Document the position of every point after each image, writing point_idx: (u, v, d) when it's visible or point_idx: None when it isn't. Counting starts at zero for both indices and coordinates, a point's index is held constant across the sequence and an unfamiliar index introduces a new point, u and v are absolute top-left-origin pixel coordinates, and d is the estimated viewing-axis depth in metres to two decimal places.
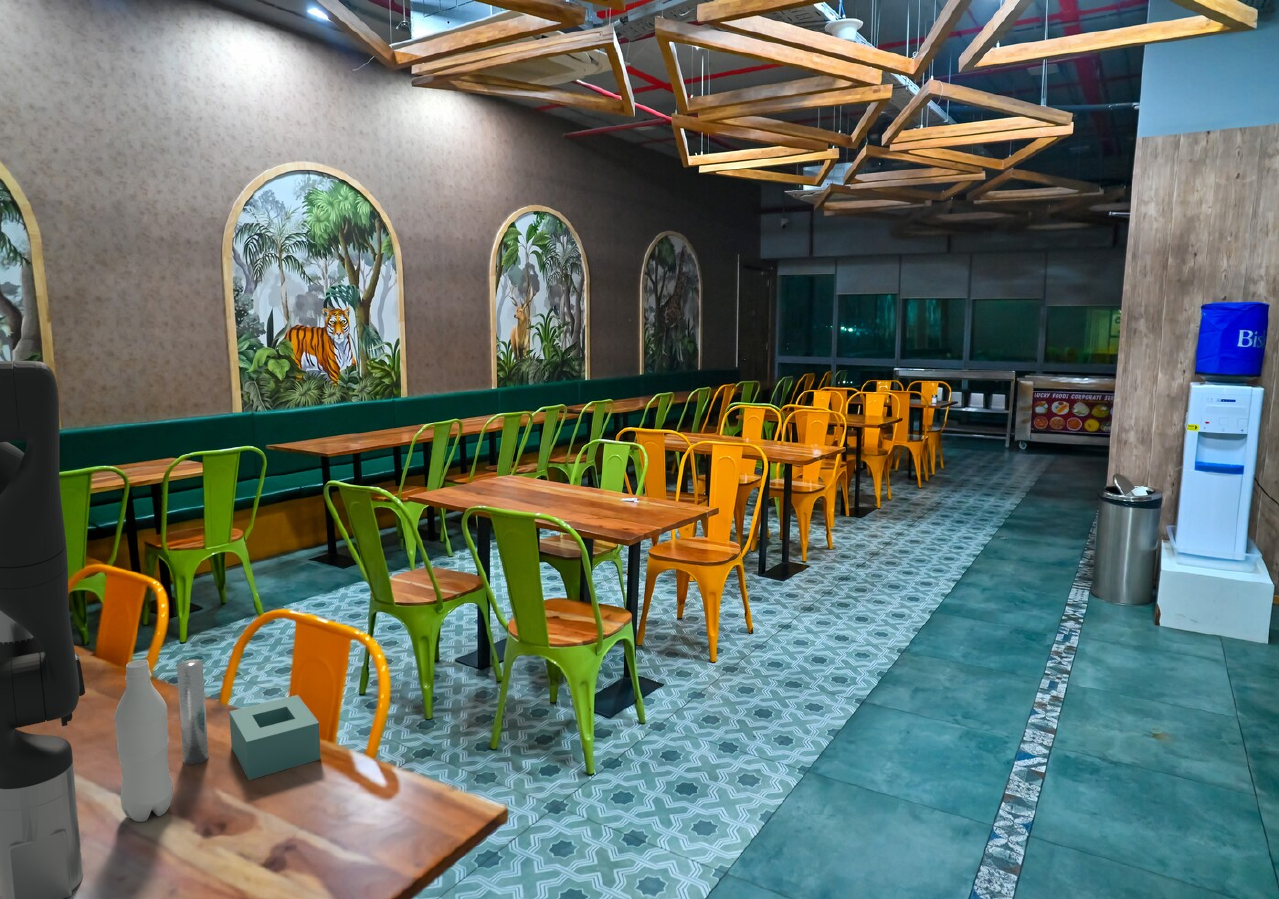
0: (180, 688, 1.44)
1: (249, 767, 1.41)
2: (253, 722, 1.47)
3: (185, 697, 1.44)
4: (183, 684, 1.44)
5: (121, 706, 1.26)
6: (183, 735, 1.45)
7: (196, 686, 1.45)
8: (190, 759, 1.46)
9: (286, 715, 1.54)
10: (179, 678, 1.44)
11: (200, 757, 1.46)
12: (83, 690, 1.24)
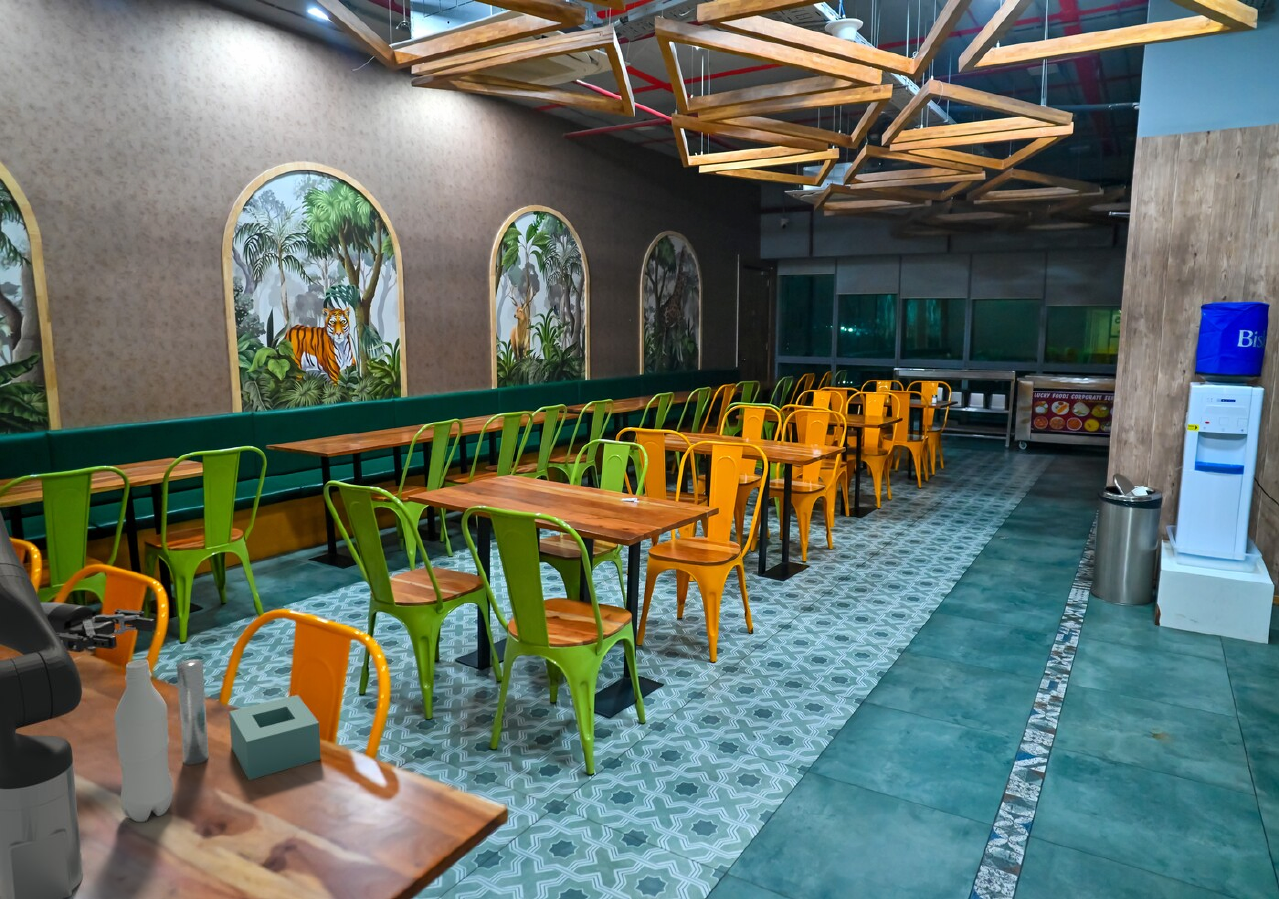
0: (180, 688, 1.44)
1: (249, 767, 1.41)
2: (253, 722, 1.47)
3: (185, 697, 1.44)
4: (183, 684, 1.44)
5: (121, 706, 1.26)
6: (183, 735, 1.45)
7: (196, 686, 1.45)
8: (190, 759, 1.46)
9: (286, 715, 1.54)
10: (179, 678, 1.44)
11: (200, 757, 1.46)
12: (141, 611, 1.55)
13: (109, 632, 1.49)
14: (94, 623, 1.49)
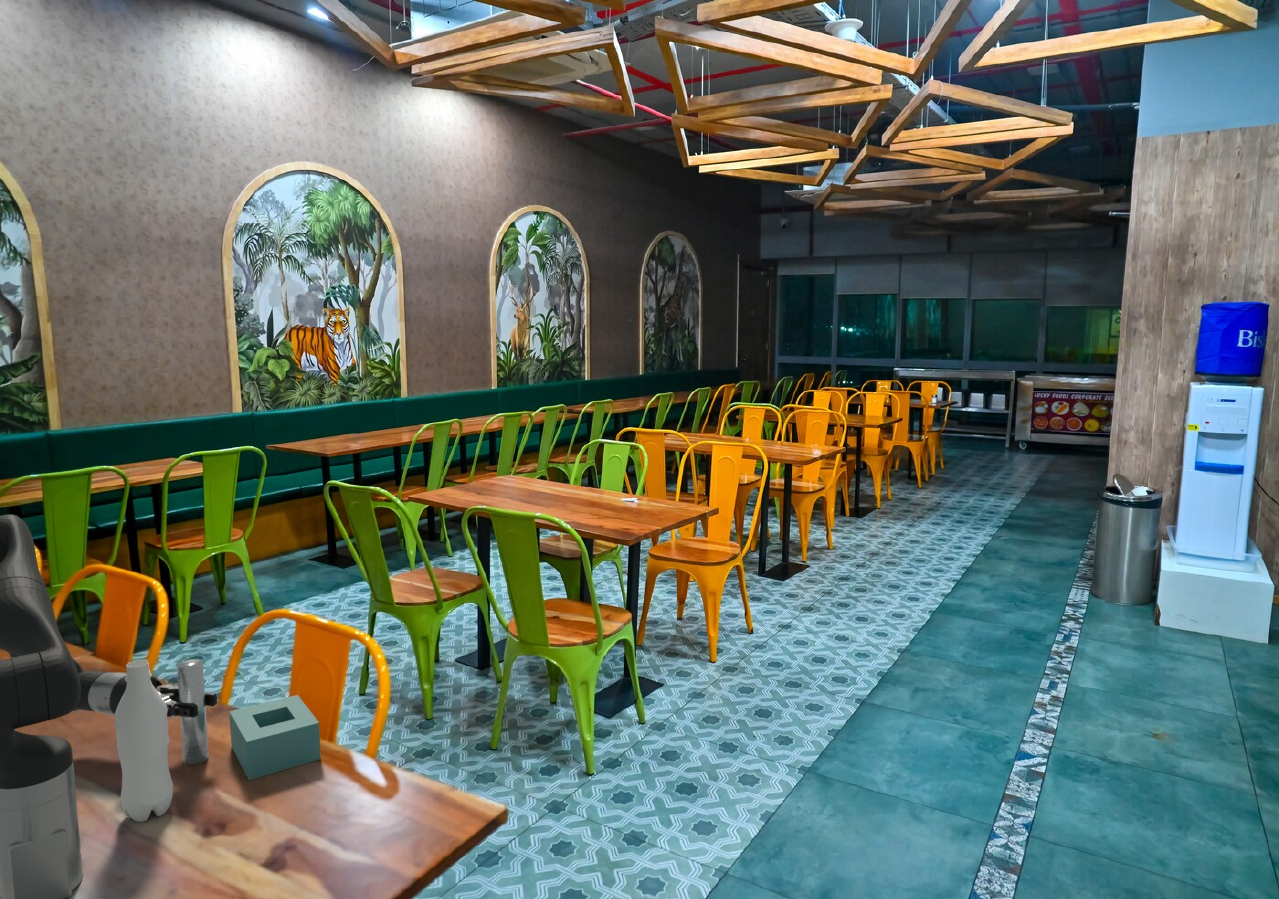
0: (180, 688, 1.44)
1: (249, 767, 1.41)
2: (253, 722, 1.47)
3: (185, 697, 1.44)
4: (183, 684, 1.44)
5: (121, 706, 1.26)
6: (183, 735, 1.45)
7: (196, 686, 1.45)
8: (190, 759, 1.46)
9: (286, 715, 1.54)
10: (179, 678, 1.44)
11: (200, 757, 1.47)
12: None
13: None
14: (160, 693, 1.48)
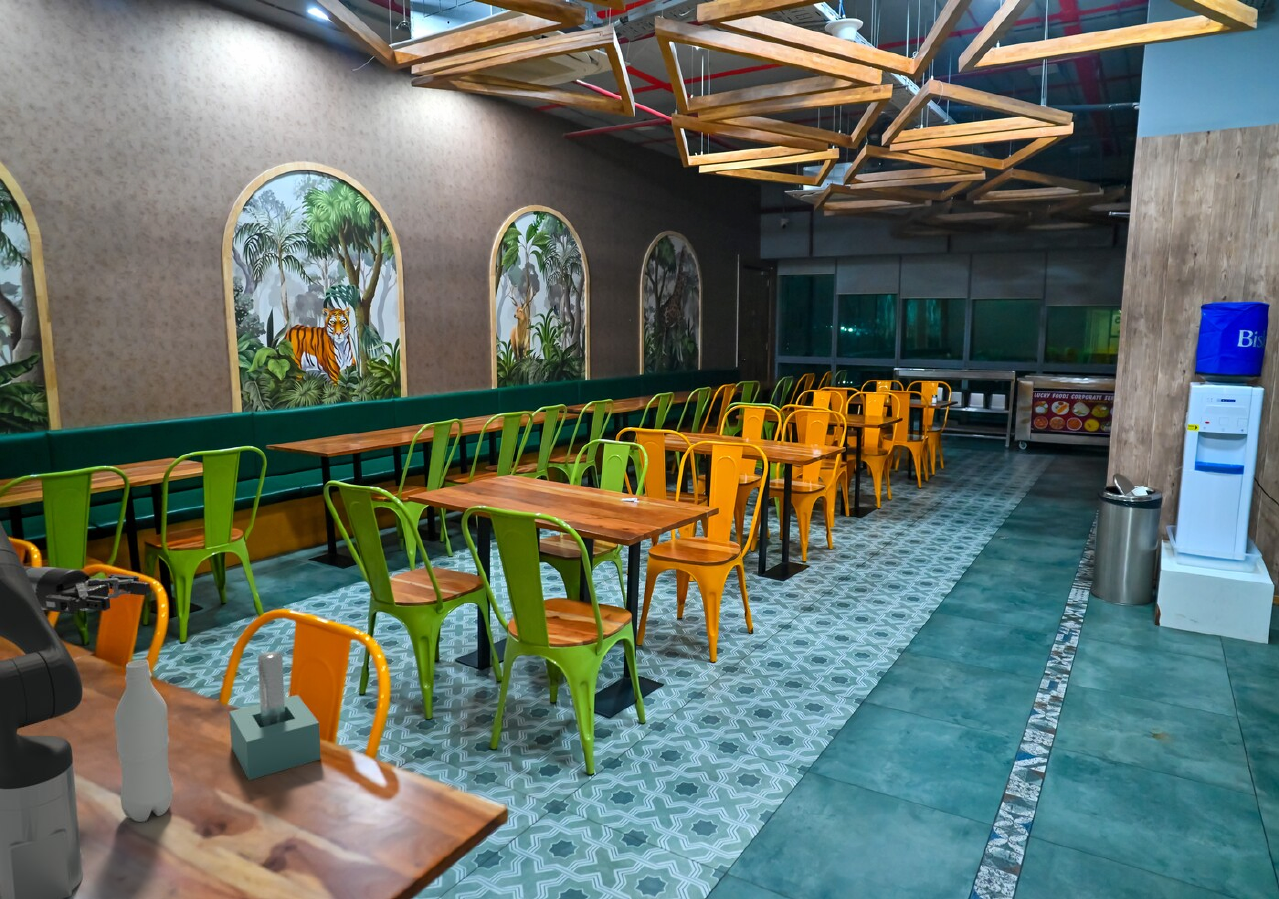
0: (261, 680, 1.47)
1: (249, 767, 1.41)
2: (253, 722, 1.47)
3: (266, 689, 1.47)
4: (265, 676, 1.46)
5: (121, 706, 1.26)
6: (263, 726, 1.48)
7: (277, 678, 1.47)
8: None
9: (286, 715, 1.54)
10: (260, 670, 1.46)
11: None
12: (135, 576, 1.52)
13: (103, 595, 1.46)
14: (87, 586, 1.46)
